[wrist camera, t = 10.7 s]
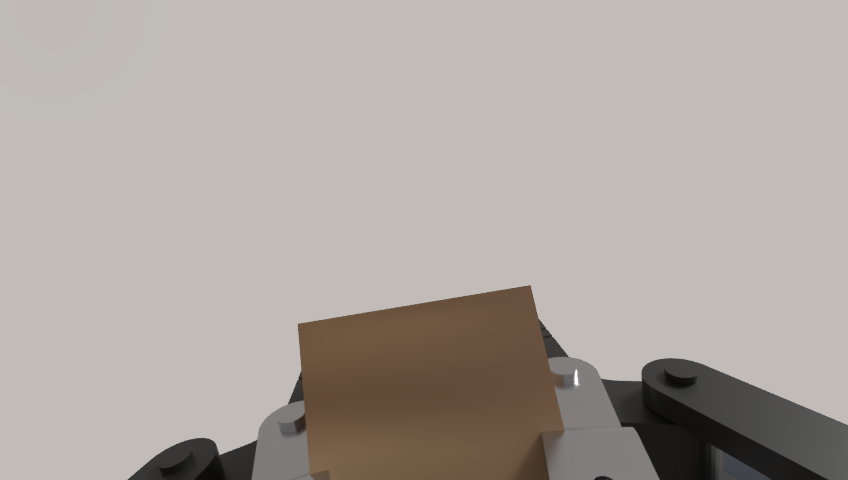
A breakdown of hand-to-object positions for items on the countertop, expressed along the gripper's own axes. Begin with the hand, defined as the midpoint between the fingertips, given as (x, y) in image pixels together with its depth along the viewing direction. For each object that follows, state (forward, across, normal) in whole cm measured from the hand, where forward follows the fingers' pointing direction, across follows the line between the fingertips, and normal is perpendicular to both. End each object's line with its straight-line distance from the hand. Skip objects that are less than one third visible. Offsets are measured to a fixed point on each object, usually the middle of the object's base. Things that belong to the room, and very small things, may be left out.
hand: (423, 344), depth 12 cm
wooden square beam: (+4, 0, +6) cm, 7 cm away
